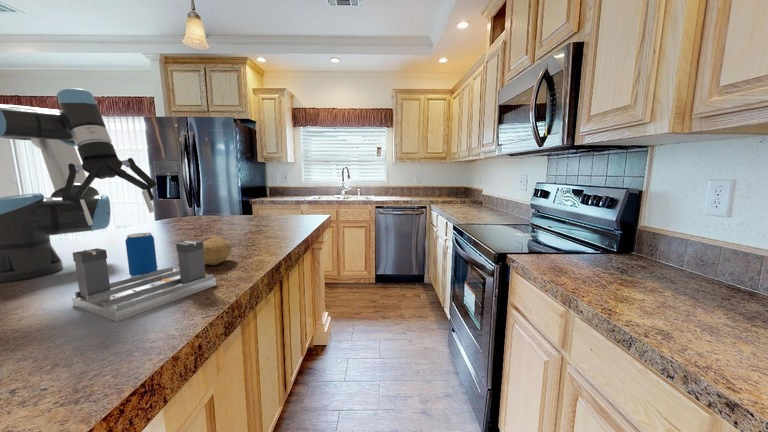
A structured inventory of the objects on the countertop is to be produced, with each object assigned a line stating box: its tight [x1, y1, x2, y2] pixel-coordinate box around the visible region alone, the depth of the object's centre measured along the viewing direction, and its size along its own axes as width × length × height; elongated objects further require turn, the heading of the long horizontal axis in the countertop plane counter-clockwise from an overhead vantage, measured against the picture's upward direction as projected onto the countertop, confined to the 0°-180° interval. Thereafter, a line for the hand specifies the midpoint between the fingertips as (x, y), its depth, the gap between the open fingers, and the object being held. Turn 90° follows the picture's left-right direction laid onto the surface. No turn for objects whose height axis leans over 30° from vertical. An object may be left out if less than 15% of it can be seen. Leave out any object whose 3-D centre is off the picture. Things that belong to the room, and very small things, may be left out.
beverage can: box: [124, 232, 158, 277], centre depth 89 cm, size 6×6×12 cm
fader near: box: [72, 247, 111, 297], centre depth 70 cm, size 4×4×10 cm
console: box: [71, 266, 217, 322], centre depth 75 cm, size 18×22×3 cm
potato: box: [203, 237, 232, 266], centre depth 100 cm, size 10×14×8 cm
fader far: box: [175, 239, 206, 283], centre depth 78 cm, size 4×4×10 cm
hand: (123, 217), depth 86 cm, fingers open, 13 cm apart
